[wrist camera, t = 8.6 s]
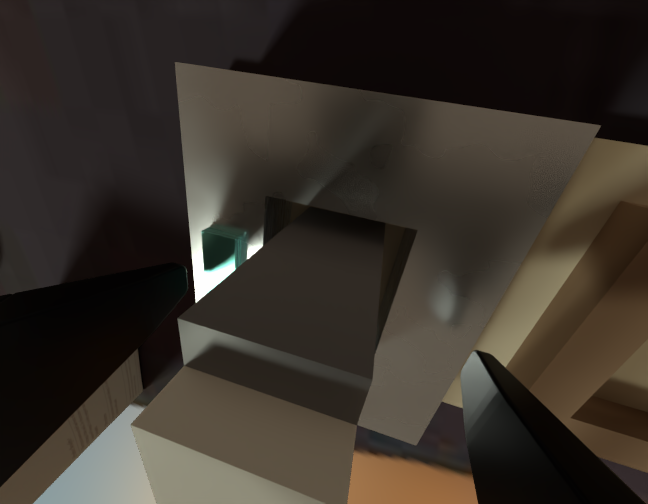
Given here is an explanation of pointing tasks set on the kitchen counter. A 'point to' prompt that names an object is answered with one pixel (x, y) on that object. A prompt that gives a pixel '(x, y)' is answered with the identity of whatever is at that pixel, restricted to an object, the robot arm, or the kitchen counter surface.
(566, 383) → the brown rectangular frame
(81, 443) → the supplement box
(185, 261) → the kitchen counter surface
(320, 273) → the plug
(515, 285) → the board
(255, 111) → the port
